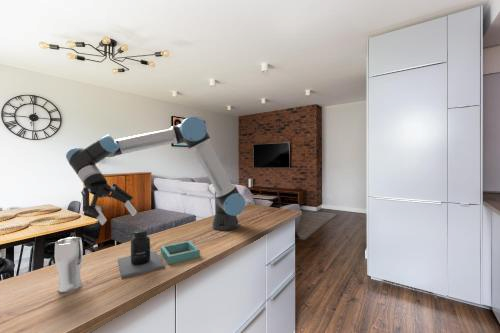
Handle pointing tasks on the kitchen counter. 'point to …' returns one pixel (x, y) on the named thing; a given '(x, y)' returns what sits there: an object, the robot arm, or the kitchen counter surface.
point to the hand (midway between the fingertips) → (120, 218)
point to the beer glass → (69, 263)
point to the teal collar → (179, 257)
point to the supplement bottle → (140, 247)
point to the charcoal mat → (131, 270)
